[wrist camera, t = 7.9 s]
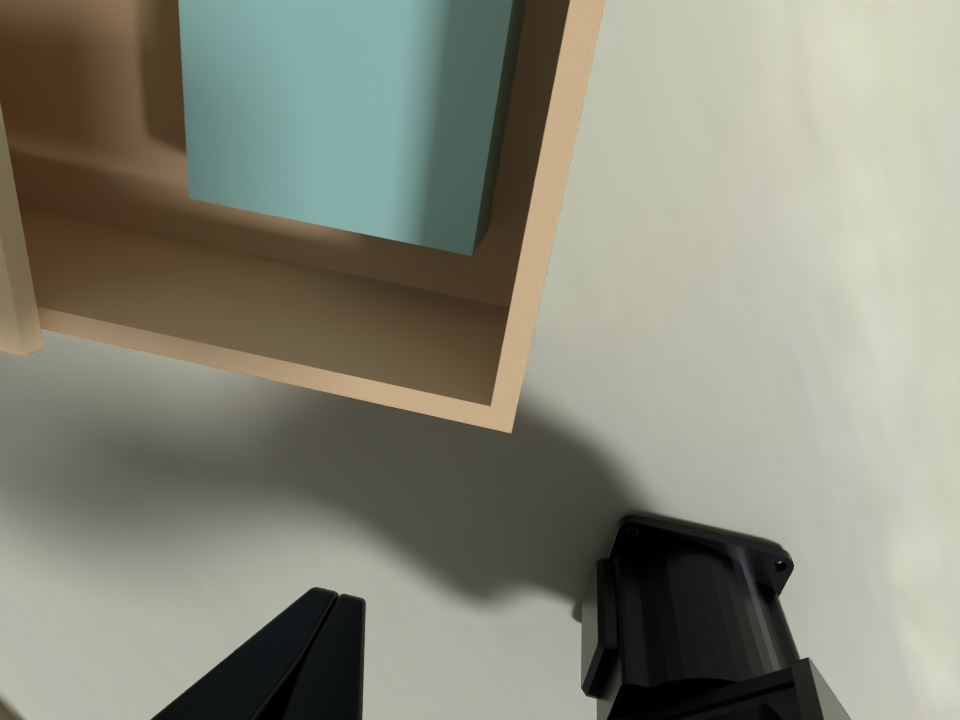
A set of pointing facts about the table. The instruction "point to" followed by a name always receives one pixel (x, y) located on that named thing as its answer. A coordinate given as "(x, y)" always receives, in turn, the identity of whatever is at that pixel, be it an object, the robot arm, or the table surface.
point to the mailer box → (300, 183)
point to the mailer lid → (14, 268)
